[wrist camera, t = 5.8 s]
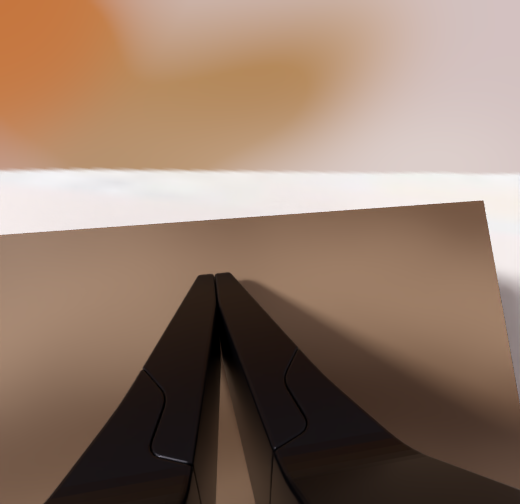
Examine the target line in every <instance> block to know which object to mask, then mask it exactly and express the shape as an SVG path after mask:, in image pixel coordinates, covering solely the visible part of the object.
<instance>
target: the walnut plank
mask: <svg viewBox="0 0 520 504" xmlns="http://www.w3.org/2000/svg"><path fill="white" fill-rule="evenodd" d="M224 272H230V273H231V274H232V275H233V276H234V277H235V278H236V279H237V280H238V281H239V282H240V284H241V285H242V286H243V287H244V288H245V289H246V290H247V291H248V292H249V293H250V295H251V296H252V297H253V298H254V299H255V300H256V301H257V302H258V303H259V304H260V306H261V307H262V308H263V309H264V310H265V311H266V312H267V313H268V314H269V315H270V316H271V318H272V319H273V320H274V321H275V322H276V323H277V324H278V325H279V326H280V327H281V329H282V330H283V331H284V332H285V333H286V334H287V335H288V336H289V337H290V338H291V339H292V341H293V342H294V343H295V344H296V345H297V346H298V348H299V349H301V350H302V351H303V352H304V354H305V355H306V356H307V357H308V358H309V359H310V360H311V361H312V362H313V363H314V364H315V365H316V366H317V367H318V368H319V369H320V370H321V371H322V373H323V374H324V375H326V376H327V377H328V378H329V379H330V380H331V381H332V382H333V383H334V384H335V385H337V386H338V387H339V388H340V389H341V390H342V391H343V392H344V393H345V394H347V395H348V396H349V397H350V398H351V399H352V400H354V401H355V402H356V403H357V404H358V405H359V406H360V407H362V408H363V409H364V410H365V411H366V412H367V413H369V414H370V415H371V416H372V417H373V418H374V419H375V420H377V421H378V422H379V423H380V424H381V425H382V426H384V427H385V428H386V429H387V430H388V431H389V432H391V433H392V434H393V435H394V436H396V437H397V438H398V439H400V440H401V441H402V442H404V443H405V444H407V445H409V446H410V447H412V448H414V449H415V450H417V451H419V452H421V453H423V454H425V455H428V456H430V457H433V458H436V459H439V460H441V461H444V462H447V463H450V464H452V465H455V466H458V467H460V468H463V469H466V470H469V471H471V472H474V473H477V474H479V475H482V476H485V477H488V478H490V479H493V480H496V481H498V482H501V483H504V484H507V485H509V486H512V487H515V488H518V489H520V403H519V397H518V392H517V386H516V380H515V375H514V369H513V364H512V358H511V352H510V347H509V341H508V336H507V330H506V325H505V319H504V313H503V308H502V302H501V297H500V291H499V286H498V280H497V274H496V269H495V263H494V258H493V252H492V246H491V241H490V235H489V230H488V224H487V219H486V213H485V207H484V202H483V201H470V202H456V203H442V204H428V205H414V206H400V207H386V208H372V209H358V210H344V211H331V212H317V213H303V214H289V215H275V216H261V217H247V218H233V219H219V220H205V221H191V222H177V223H163V224H149V225H135V226H121V227H107V228H93V229H79V230H65V231H51V232H37V233H23V234H9V235H0V504H43V503H44V502H45V501H46V500H47V499H48V498H49V496H50V495H51V494H52V493H53V492H54V490H55V489H56V488H57V486H58V485H59V484H60V482H61V481H62V480H63V479H64V477H65V476H66V475H67V473H68V472H69V471H70V469H71V468H72V467H73V465H74V464H75V463H76V461H77V460H78V459H79V458H80V456H81V455H82V454H83V452H84V451H85V450H86V448H87V447H88V446H89V444H90V443H91V442H92V441H93V439H94V438H95V437H96V435H97V434H98V433H99V431H100V430H101V429H102V427H103V426H104V425H105V423H106V422H107V421H108V419H109V418H110V417H111V415H112V414H113V412H114V411H115V410H116V408H117V407H118V406H119V404H120V403H121V401H122V399H123V398H124V396H125V395H126V393H127V392H128V390H129V389H130V387H131V386H132V384H133V382H134V381H135V379H136V377H137V376H138V374H139V372H140V371H141V370H143V369H142V368H143V366H144V364H145V363H146V361H147V359H148V358H149V356H150V354H151V353H152V351H153V349H154V348H155V346H156V344H157V343H158V341H159V339H160V338H161V336H162V334H163V333H164V331H165V329H166V328H167V326H168V324H169V323H170V321H171V319H172V318H173V316H174V314H175V313H176V311H177V309H178V308H179V306H180V304H181V303H182V301H183V299H184V298H185V296H186V294H187V293H188V291H189V289H190V288H191V286H192V284H193V283H194V281H195V279H196V278H197V276H198V275H203V274H213V275H214V278H215V274H216V273H224ZM219 334H220V333H219ZM220 346H221V344H220ZM216 504H255V499H254V495H253V490H252V486H251V482H250V477H249V473H248V469H247V464H246V460H245V456H244V451H243V447H242V443H241V438H240V434H239V430H238V425H237V421H236V416H235V412H234V408H233V403H232V399H231V395H230V390H229V386H228V382H227V377H226V373H225V369H224V364H223V359H222V353H221V379H220V406H219V432H218V458H217V484H216Z"/></svg>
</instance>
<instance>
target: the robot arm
mask: <svg viewBox="0 0 520 504" xmlns="http://www.w3.org/2000/svg"><path fill="white" fill-rule="evenodd" d="M219 333H220V334H219ZM220 344H221V346H220ZM221 353H222V359H223V364H224V369H225V373H226V377H227V382H228V386H229V390H230V395H231V399H232V403H233V408H234V412H235V416H236V421H237V425H238V430H239V434H240V438H241V443H242V447H243V451H244V456H245V460H246V464H247V469H248V473H249V477H250V482H251V486H252V490H253V495H254V499H255V504H520V489H518V488H515V487H512V486H509V485H507V484H504V483H501V482H498V481H496V480H493V479H490V478H488V477H485V476H482V475H479V474H477V473H474V472H471V471H469V470H466V469H463V468H460V467H458V466H455V465H452V464H450V463H447V462H444V461H441V460H439V459H436V458H433V457H430V456H428V455H425V454H423V453H421V452H419V451H417V450H415V449H414V448H412V447H410V446H409V445H407V444H405V443H404V442H402V441H401V440H400V439H398V438H397V437H396V436H394V435H393V434H392V433H391V432H389V431H388V430H387V429H386V428H385V427H384V426H382V425H381V424H380V423H379V422H378V421H377V420H375V419H374V418H373V417H372V416H371V415H370V414H369V413H367V412H366V411H365V410H364V409H363V408H362V407H360V406H359V405H358V404H357V403H356V402H355V401H354V400H352V399H351V398H350V397H349V396H348V395H347V394H345V393H344V392H343V391H342V390H341V389H340V388H339V387H338V386H337V385H335V384H334V383H333V382H332V381H331V380H330V379H329V378H328V377H327V376H326V375H324V374H323V373H322V371H321V370H320V369H319V368H318V367H317V366H316V365H315V364H314V363H313V362H312V361H311V360H310V359H309V358H308V357H307V356H306V355H305V354H304V352H303V351H302V350H301V349H299V348H298V346H297V345H296V344H295V343H294V342H293V341H292V339H291V338H290V337H289V336H288V335H287V334H286V333H285V332H284V331H283V330H282V329H281V327H280V326H279V325H278V324H277V323H276V322H275V321H274V320H273V319H272V318H271V316H270V315H269V314H268V313H267V312H266V311H265V310H264V309H263V308H262V307H261V306H260V304H259V303H258V302H257V301H256V300H255V299H254V298H253V297H252V296H251V295H250V293H249V292H248V291H247V290H246V289H245V288H244V287H243V286H242V285H241V284H240V282H239V281H238V280H237V279H236V278H235V277H234V276H233V275H232V274H231V273H230V272H224V273H216V274H215V278H214V275H213V274H203V275H198V276H197V278H196V279H195V281H194V283H193V284H192V286H191V288H190V289H189V291H188V293H187V294H186V296H185V298H184V299H183V301H182V303H181V304H180V306H179V308H178V309H177V311H176V313H175V314H174V316H173V318H172V319H171V321H170V323H169V324H168V326H167V328H166V329H165V331H164V333H163V334H162V336H161V338H160V339H159V341H158V343H157V344H156V346H155V348H154V349H153V351H152V353H151V354H150V356H149V358H148V359H147V361H146V363H145V364H144V366H143V368H142V369H143V370H141V371H140V372H139V374H138V376H137V377H136V379H135V381H134V382H133V384H132V386H131V387H130V389H129V390H128V392H127V393H126V395H125V396H124V398H123V399H122V401H121V403H120V404H119V406H118V407H117V408H116V410H115V411H114V412H113V414H112V415H111V417H110V418H109V419H108V421H107V422H106V423H105V425H104V426H103V427H102V429H101V430H100V431H99V433H98V434H97V435H96V437H95V438H94V439H93V441H92V442H91V443H90V444H89V446H88V447H87V448H86V450H85V451H84V452H83V454H82V455H81V456H80V458H79V459H78V460H77V461H76V463H75V464H74V465H73V467H72V468H71V469H70V471H69V472H68V473H67V475H66V476H65V477H64V479H63V480H62V481H61V482H60V484H59V485H58V486H57V488H56V489H55V490H54V492H53V493H52V494H51V495H50V496H49V498H48V499H47V500H46V501H45V502H44V503H43V504H216V484H217V458H218V432H219V406H220V379H221Z"/></svg>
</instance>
